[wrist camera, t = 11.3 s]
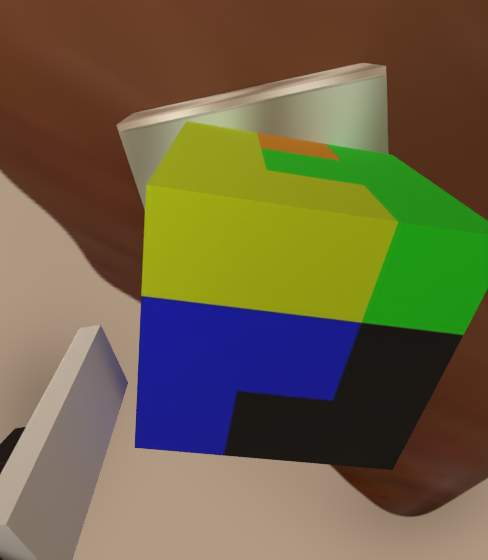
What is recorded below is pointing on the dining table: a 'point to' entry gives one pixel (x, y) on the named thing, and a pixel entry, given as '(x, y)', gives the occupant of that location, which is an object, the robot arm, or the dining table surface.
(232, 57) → the dining table surface
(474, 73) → the dining table surface
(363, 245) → the puzzle toy
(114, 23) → the dining table surface
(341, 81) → the plinth
